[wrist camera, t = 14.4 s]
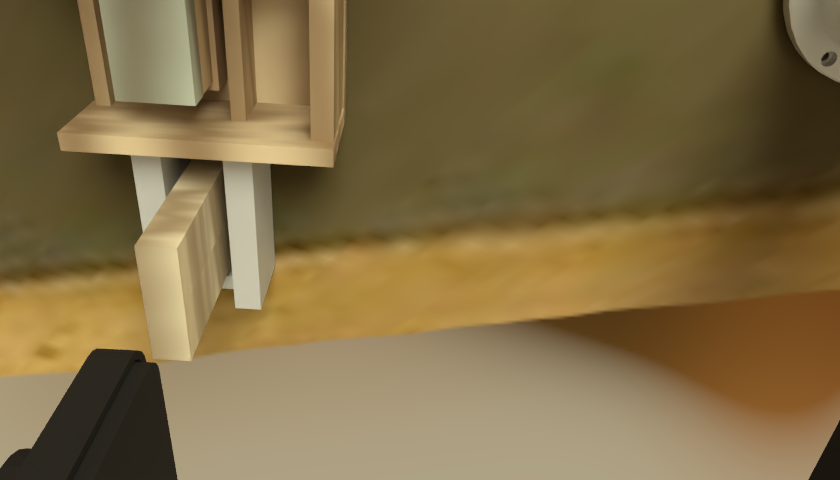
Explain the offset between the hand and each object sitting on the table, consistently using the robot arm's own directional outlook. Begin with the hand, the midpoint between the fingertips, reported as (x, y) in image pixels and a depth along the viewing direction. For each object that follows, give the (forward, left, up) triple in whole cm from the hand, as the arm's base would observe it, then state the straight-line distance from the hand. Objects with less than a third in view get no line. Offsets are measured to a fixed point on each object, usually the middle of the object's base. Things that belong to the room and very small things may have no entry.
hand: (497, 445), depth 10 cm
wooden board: (+13, +14, -33) cm, 39 cm away
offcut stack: (+14, +3, -32) cm, 35 cm away
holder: (+13, +15, -33) cm, 39 cm away
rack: (+12, +3, -33) cm, 36 cm away
